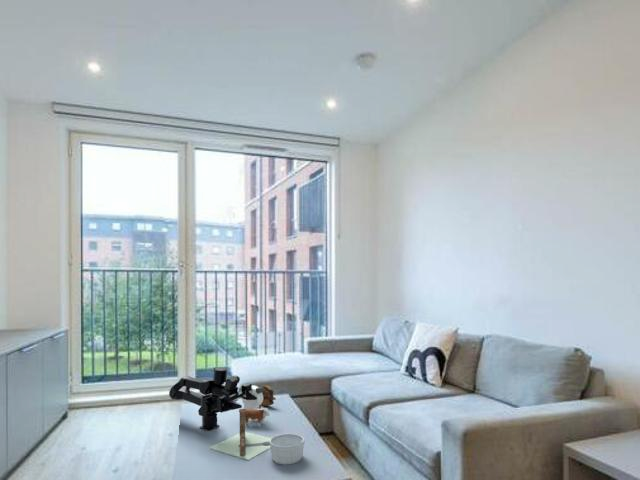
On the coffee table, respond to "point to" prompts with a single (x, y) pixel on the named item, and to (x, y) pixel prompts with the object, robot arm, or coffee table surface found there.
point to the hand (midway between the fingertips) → (249, 402)
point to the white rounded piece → (254, 403)
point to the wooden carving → (268, 396)
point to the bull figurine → (256, 415)
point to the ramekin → (287, 448)
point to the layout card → (252, 445)
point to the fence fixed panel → (242, 445)
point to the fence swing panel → (242, 422)
